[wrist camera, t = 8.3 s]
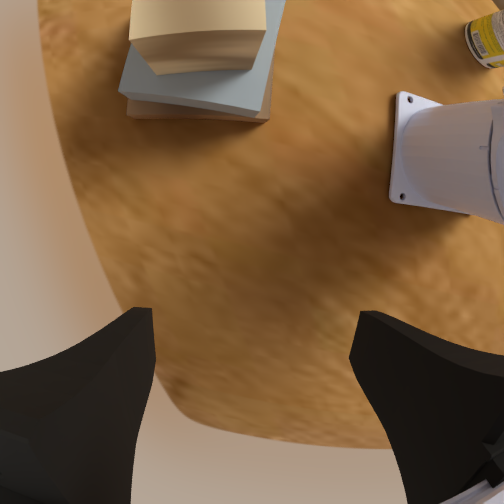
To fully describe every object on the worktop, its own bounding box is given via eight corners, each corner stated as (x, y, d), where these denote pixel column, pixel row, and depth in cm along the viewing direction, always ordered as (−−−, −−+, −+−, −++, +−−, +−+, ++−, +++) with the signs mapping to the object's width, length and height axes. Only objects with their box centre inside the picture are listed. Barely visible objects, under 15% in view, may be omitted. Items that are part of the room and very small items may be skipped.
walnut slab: (271, 15, 16) (278, -1, 14) (263, 124, 19) (269, 119, 16) (151, 11, 15) (144, -5, 13) (136, 119, 18) (126, 115, 15)
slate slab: (278, 13, 14) (286, -5, 12) (254, 118, 16) (260, 111, 14) (162, -4, 13) (155, -23, 11) (131, 99, 15) (117, 91, 13)
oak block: (249, -5, 12) (261, -60, 7) (251, 69, 13) (266, 30, 8) (160, 0, 11) (140, -52, 7) (156, 75, 13) (128, 39, 8)
